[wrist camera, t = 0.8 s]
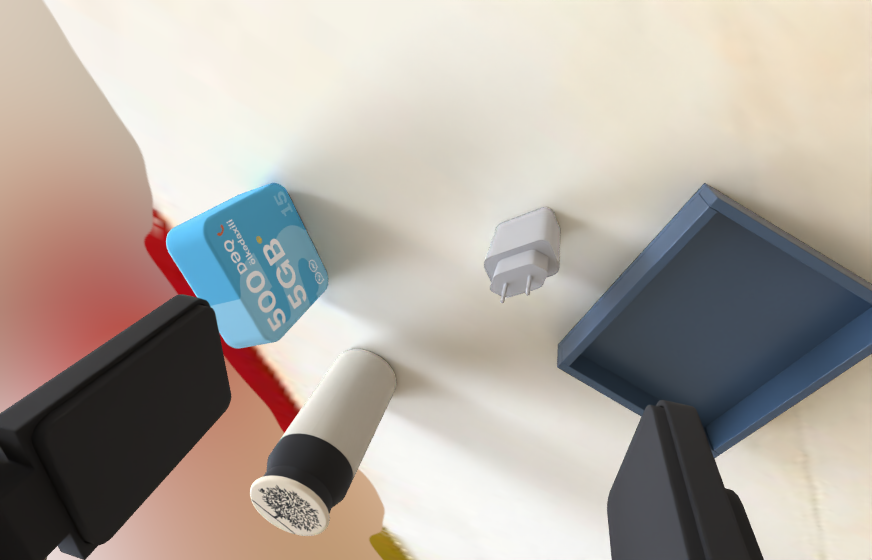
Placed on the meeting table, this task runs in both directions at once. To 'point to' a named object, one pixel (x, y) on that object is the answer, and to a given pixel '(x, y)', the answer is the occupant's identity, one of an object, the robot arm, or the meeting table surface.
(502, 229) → the power adapter
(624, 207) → the meeting table surface
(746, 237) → the tray
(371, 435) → the travel mug
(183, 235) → the data package
